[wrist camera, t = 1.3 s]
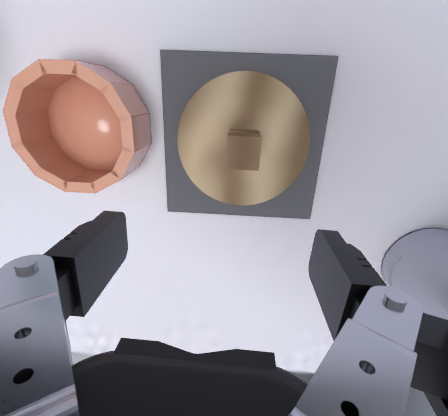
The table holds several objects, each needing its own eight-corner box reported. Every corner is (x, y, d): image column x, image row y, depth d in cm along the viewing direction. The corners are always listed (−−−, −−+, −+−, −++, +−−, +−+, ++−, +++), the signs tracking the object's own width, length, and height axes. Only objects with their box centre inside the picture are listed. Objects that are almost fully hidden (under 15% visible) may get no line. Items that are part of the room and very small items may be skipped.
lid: (318, 73, 25) (337, 69, 20) (298, 205, 30) (309, 227, 25) (177, 68, 25) (162, 62, 21) (180, 199, 30) (169, 219, 26)
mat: (337, 56, 25) (338, 56, 24) (309, 217, 31) (310, 218, 31) (161, 50, 25) (160, 49, 25) (168, 209, 31) (167, 211, 31)
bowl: (146, 67, 26) (126, 62, 21) (153, 179, 30) (138, 195, 25) (32, 63, 26) (-12, 57, 22) (55, 174, 30) (23, 189, 26)
